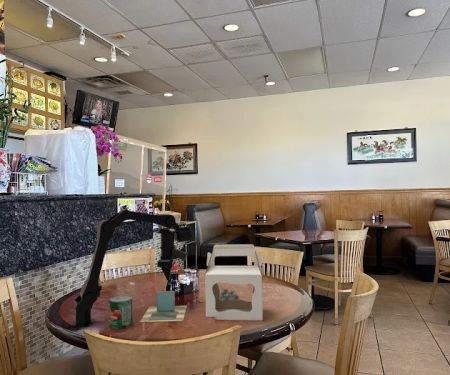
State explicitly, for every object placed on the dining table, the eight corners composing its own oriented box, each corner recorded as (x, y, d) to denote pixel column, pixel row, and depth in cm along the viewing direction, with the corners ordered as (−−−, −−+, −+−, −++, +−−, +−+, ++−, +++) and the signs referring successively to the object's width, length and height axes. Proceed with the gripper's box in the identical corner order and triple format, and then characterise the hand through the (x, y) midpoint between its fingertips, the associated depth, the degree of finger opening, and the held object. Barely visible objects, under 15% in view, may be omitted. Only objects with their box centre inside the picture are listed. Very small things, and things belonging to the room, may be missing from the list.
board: (182, 323, 131) (182, 320, 131) (139, 325, 130) (139, 321, 130) (187, 308, 149) (187, 305, 149) (149, 309, 148) (149, 306, 148)
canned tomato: (136, 325, 130) (136, 295, 130) (125, 333, 122) (125, 301, 123) (117, 323, 132) (117, 294, 132) (105, 331, 124) (105, 300, 125)
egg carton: (223, 295, 168) (222, 287, 168) (238, 296, 166) (238, 287, 167) (217, 302, 158) (217, 293, 158) (234, 302, 156) (234, 293, 156)
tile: (174, 312, 141) (173, 292, 141) (156, 312, 141) (156, 292, 141) (174, 310, 142) (174, 290, 143) (157, 311, 142) (157, 291, 143)
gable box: (205, 319, 135) (203, 246, 135) (210, 308, 148) (208, 242, 149) (263, 320, 132) (261, 246, 133) (263, 309, 146) (261, 242, 146)
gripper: (184, 246, 141) (185, 284, 141) (188, 240, 160) (188, 274, 159) (156, 246, 141) (157, 285, 140) (163, 240, 160) (164, 275, 159)
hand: (168, 280), depth 150 cm, fingers closed
